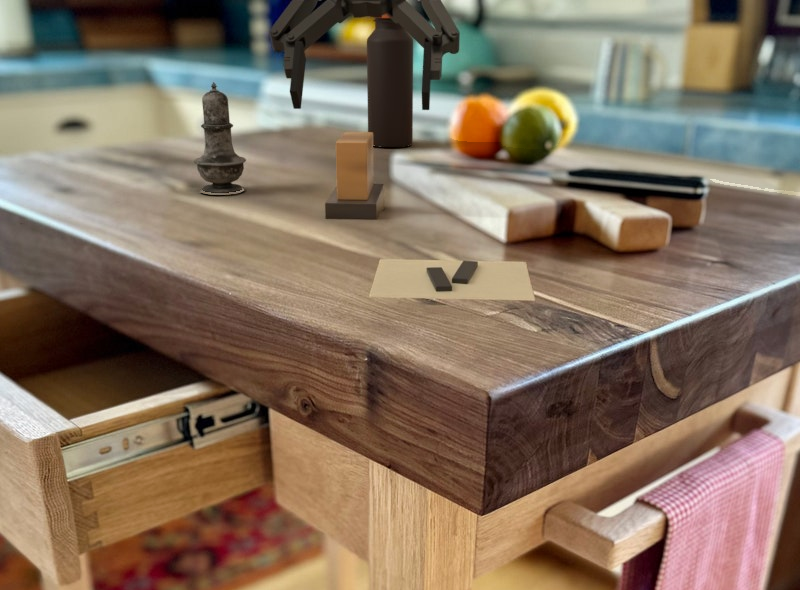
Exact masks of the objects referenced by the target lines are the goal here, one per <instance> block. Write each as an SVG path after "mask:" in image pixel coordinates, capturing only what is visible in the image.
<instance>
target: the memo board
mask: <svg viewBox="0 0 800 590" xmlns="http://www.w3.org/2000/svg"><path fill="white" fill-rule="evenodd" d="M463 261H464V260H454V259H453V260H452V259H451V260H449V259H447V260H446V259H393V258H392V259H391V258H389V259H388V258H380V259H379V262H378V265H377V268H376V271H375V275H374V279H373V282H372V285H371V288H370V291H369V295H368V298H386V299H387V298H391V299H392V298H393V299H394V298H395V299H431V300H432V299H435V300H436V299H437V300H438V299H439V300H441V299H442V300H479V301H483V300H487V301H529V302H531V301H533V302H536V297H535V293H534V289H533V284H532V281H531V276H530V272H529V270H528V269H529V268H528V265H527V262H526V261H505V260H504V261H503V260H502V261H500V260H476V261H477V262H478V266H477V268H476V270H475V271H474V273H473V275H472V277H471V278H470V280H469V282H468V284H459V283H452V278H453V276H454V274H455V273H456V271H457V270H458V268H459V267H460V265H461V264H462V262H463ZM431 267H442V269H443V271H444V273H445V274H446V276H447V278H448V280H449V282H450V283H451V285H452V291H441V292H436V290H435V288H434V286H433V284H432V282H431V280H430V278H429V276H428V274H427V268H431Z"/></svg>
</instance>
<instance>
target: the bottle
mask: <svg viewBox="0 0 800 590" xmlns="http://www.w3.org/2000/svg"><path fill="white" fill-rule="evenodd" d="M372 18H373V20H372V22H374V30H372V32H371V33H370V34H369V36H368V37H367V39H366V81H367V82H366V84H367V85H366V86H367V132H373V145H375V146H381V147H403V146H408V145H410V144H411V145H413V139H414V138H413V135H414V133H413V132H414V131H413V129H414V128H413V125H414V123H413V122H414V121H413V120H414V115H413V113H414V111H413V110H414V109H413V108H414V96H413V95H414V92H413V91H414V38H413V37H412V36H411V35H410V34H409V33H408V32H407V31H406V30H405V29H404V28H403V27H402V26H401V25H400V24H399V23H397V24H396V23H395V22H394V21H393V20H392V19H391V18H390V17H389V16H387V15H386V14H385V15H382V18H374V17H372ZM411 145H410V146H411ZM408 147H409V146H408ZM403 148H404V147H403Z"/></svg>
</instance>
